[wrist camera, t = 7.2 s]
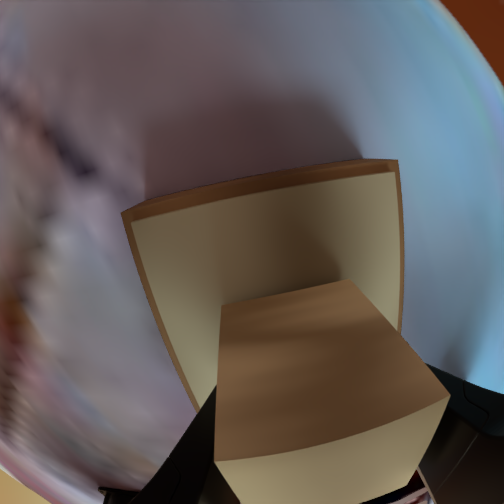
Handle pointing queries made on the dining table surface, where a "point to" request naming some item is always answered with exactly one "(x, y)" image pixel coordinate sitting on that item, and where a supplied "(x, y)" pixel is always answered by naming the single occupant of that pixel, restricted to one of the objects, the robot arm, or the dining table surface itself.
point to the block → (319, 399)
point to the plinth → (265, 250)
